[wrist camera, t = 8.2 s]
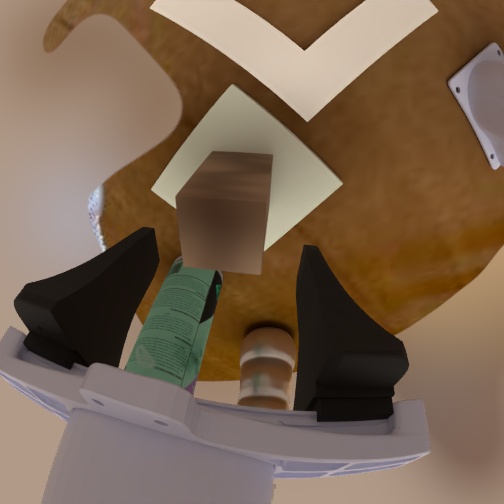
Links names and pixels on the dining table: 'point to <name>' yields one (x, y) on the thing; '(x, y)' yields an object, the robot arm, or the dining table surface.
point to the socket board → (290, 54)
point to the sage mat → (254, 141)
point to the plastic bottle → (266, 370)
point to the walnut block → (226, 212)
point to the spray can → (177, 326)
